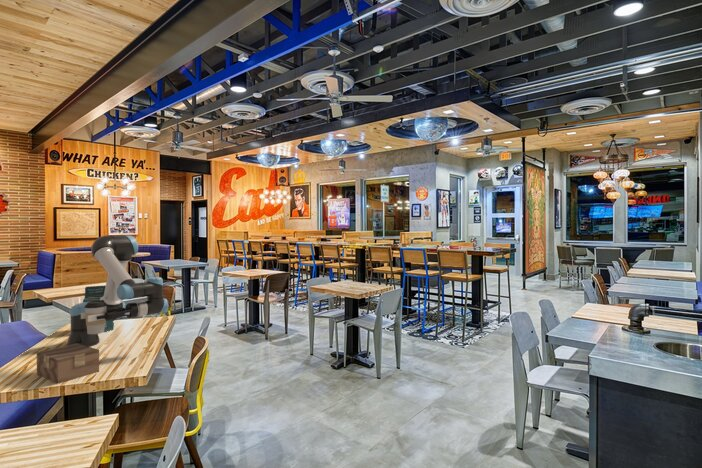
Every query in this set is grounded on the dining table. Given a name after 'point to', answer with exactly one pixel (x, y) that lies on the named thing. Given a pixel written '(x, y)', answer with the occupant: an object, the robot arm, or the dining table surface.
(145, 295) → the robot arm
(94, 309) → the coffee cup
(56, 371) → the walnut box
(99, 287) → the donation box
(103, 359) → the dining table surface
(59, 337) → the dining table surface
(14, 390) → the dining table surface
